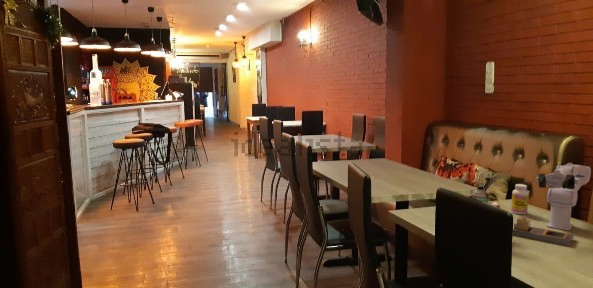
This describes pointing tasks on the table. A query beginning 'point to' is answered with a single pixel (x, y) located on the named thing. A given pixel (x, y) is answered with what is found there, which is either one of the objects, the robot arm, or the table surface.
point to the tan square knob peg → (523, 224)
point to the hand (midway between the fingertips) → (551, 185)
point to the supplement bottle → (520, 199)
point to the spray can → (480, 194)
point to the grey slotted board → (545, 235)
